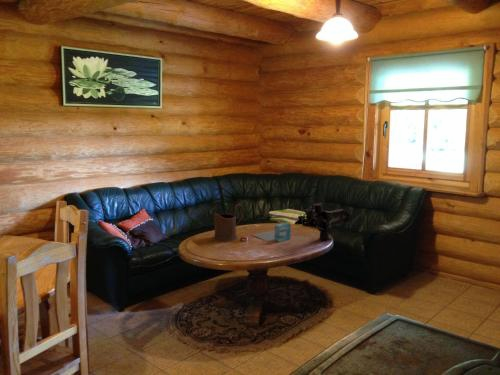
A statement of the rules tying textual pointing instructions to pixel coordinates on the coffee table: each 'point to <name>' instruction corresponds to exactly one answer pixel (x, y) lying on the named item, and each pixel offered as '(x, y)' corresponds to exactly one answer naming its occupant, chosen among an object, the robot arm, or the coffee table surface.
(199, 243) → the coffee table surface
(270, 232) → the slate rubber mat
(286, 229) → the data package
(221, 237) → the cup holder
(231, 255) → the coffee table surface
